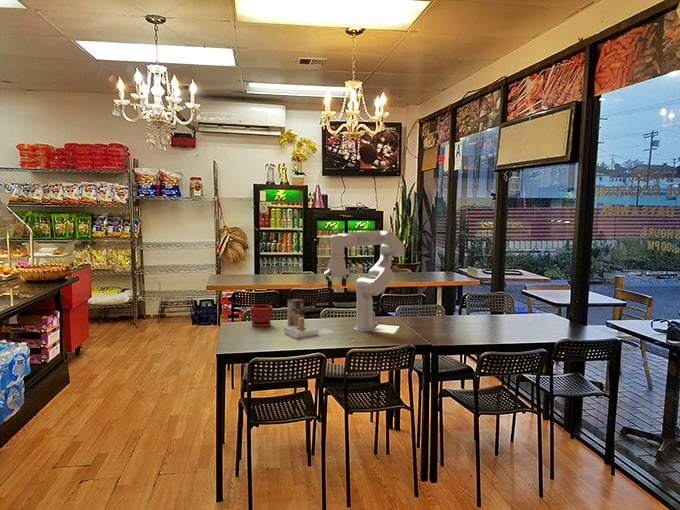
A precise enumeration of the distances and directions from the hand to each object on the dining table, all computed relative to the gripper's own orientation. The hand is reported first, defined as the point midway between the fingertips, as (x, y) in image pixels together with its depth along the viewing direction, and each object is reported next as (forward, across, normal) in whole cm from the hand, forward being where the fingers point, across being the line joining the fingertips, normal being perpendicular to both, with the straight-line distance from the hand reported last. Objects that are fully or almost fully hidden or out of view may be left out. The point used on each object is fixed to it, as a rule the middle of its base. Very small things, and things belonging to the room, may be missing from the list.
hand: (336, 286), depth 265 cm
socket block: (+28, +16, -12) cm, 35 cm away
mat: (+28, +2, -9) cm, 30 cm away
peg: (+28, +16, -12) cm, 34 cm away
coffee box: (+28, +9, -30) cm, 42 cm away
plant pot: (+28, +26, -42) cm, 57 cm away
